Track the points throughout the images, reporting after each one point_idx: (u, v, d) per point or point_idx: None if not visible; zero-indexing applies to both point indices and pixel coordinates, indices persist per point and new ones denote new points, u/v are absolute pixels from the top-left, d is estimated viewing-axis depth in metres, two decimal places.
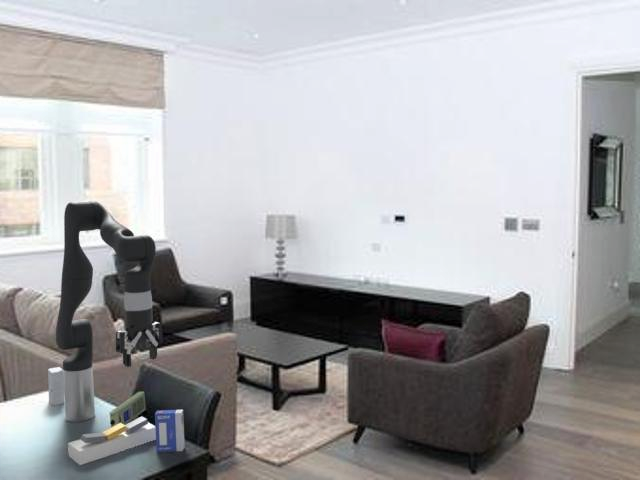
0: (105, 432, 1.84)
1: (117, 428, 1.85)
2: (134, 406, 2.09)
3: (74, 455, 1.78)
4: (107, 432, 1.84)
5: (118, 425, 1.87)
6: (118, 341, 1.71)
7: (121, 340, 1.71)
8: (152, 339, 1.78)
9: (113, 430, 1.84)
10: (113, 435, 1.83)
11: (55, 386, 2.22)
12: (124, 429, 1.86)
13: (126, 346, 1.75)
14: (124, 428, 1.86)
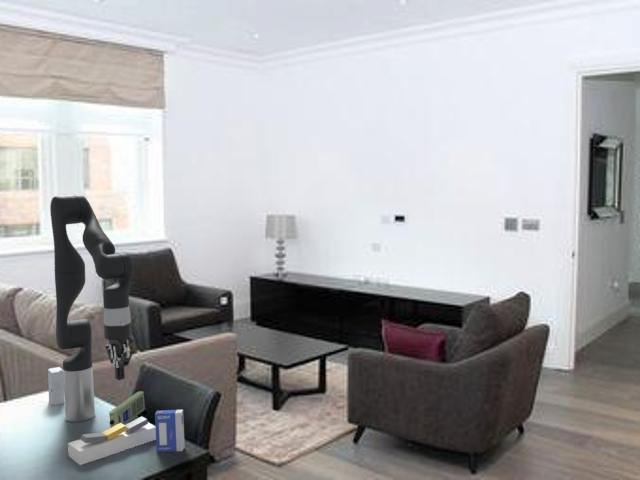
0: (105, 432, 1.84)
1: (117, 428, 1.85)
2: (133, 406, 2.09)
3: (74, 455, 1.78)
4: (107, 432, 1.84)
5: (118, 425, 1.87)
6: (126, 360, 1.81)
7: (130, 357, 1.82)
8: None
9: (113, 430, 1.84)
10: (113, 435, 1.83)
11: (55, 386, 2.22)
12: (124, 429, 1.86)
13: None
14: (124, 428, 1.86)
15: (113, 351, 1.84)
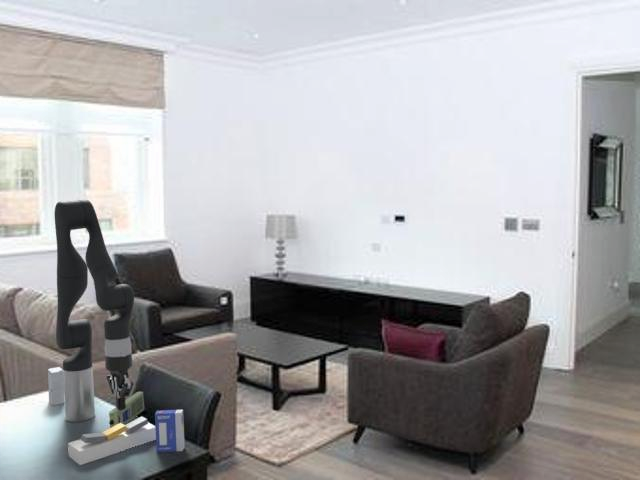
0: (105, 432, 1.84)
1: (117, 428, 1.85)
2: (133, 406, 2.09)
3: (74, 455, 1.78)
4: (107, 432, 1.84)
5: (118, 425, 1.87)
6: (127, 390, 1.82)
7: (131, 388, 1.83)
8: None
9: (113, 430, 1.84)
10: (113, 435, 1.83)
11: (55, 386, 2.22)
12: (124, 429, 1.86)
13: None
14: (124, 428, 1.86)
15: (114, 381, 1.85)
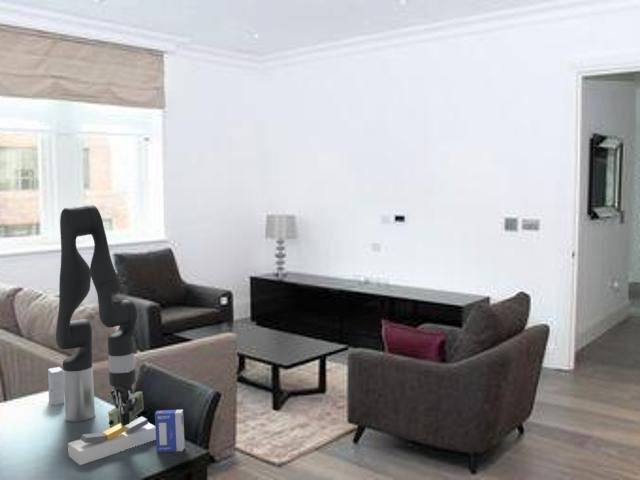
0: (105, 432, 1.84)
1: (117, 428, 1.85)
2: None
3: (74, 455, 1.78)
4: (107, 432, 1.84)
5: (118, 425, 1.87)
6: (131, 406, 1.83)
7: (135, 403, 1.84)
8: None
9: (113, 430, 1.84)
10: (113, 435, 1.84)
11: (55, 386, 2.22)
12: (124, 429, 1.86)
13: None
14: (124, 428, 1.86)
15: (118, 397, 1.86)
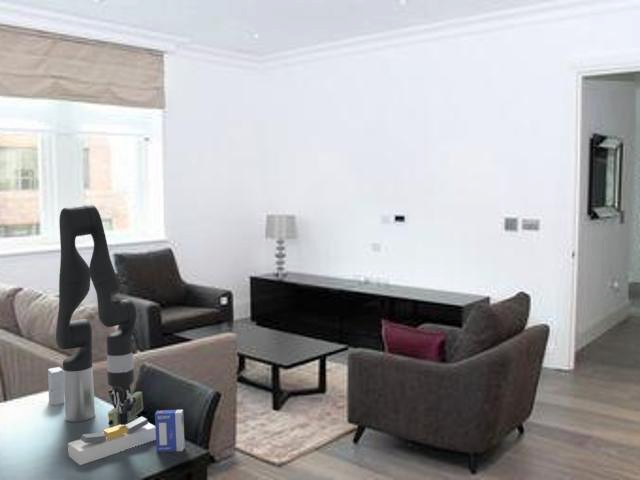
0: (106, 430, 1.84)
1: (119, 428, 1.85)
2: None
3: (74, 455, 1.78)
4: (108, 430, 1.84)
5: (120, 426, 1.87)
6: (129, 406, 1.83)
7: (133, 403, 1.84)
8: None
9: (115, 429, 1.85)
10: (114, 434, 1.84)
11: (55, 386, 2.22)
12: (125, 430, 1.86)
13: None
14: (125, 429, 1.86)
15: (116, 396, 1.86)
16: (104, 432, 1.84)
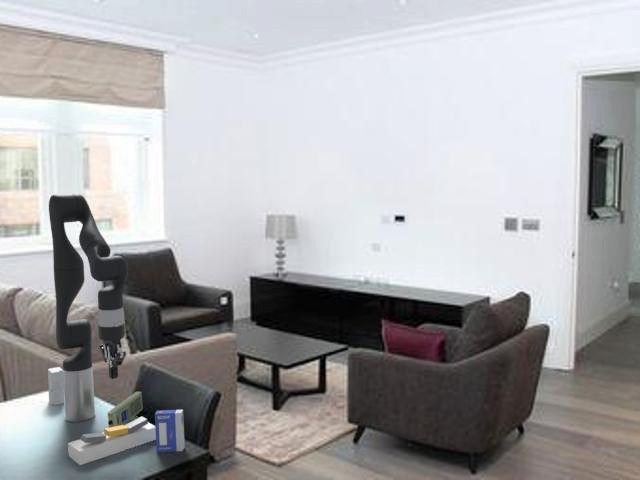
0: (107, 429, 1.84)
1: (119, 428, 1.86)
2: (131, 406, 2.10)
3: (74, 455, 1.78)
4: (109, 429, 1.84)
5: (121, 426, 1.87)
6: (120, 360, 1.86)
7: (124, 357, 1.87)
8: None
9: (115, 429, 1.85)
10: (114, 433, 1.84)
11: (55, 386, 2.22)
12: (126, 431, 1.86)
13: None
14: (126, 430, 1.86)
15: (107, 351, 1.89)
16: (105, 431, 1.84)
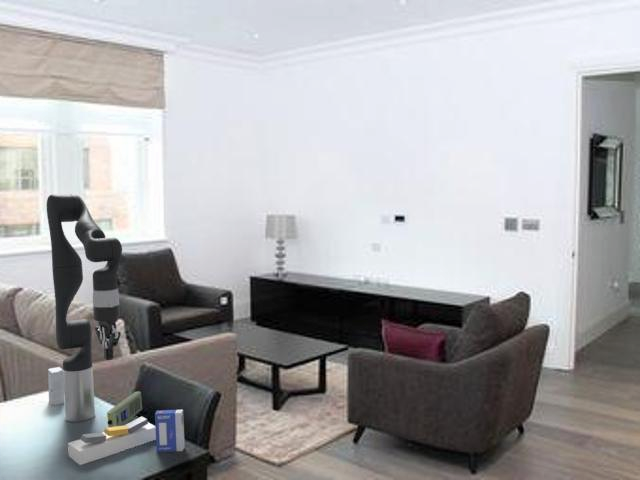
0: (108, 428, 1.85)
1: (120, 428, 1.86)
2: (131, 406, 2.10)
3: (74, 455, 1.78)
4: (110, 428, 1.84)
5: (121, 426, 1.88)
6: (115, 340, 1.88)
7: None
8: None
9: (116, 428, 1.85)
10: (115, 433, 1.84)
11: (55, 386, 2.22)
12: (126, 431, 1.86)
13: None
14: (126, 430, 1.86)
15: (102, 332, 1.90)
16: (105, 430, 1.84)
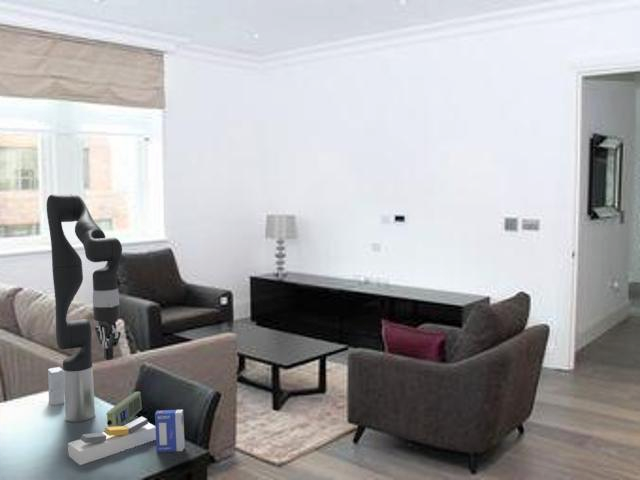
0: (108, 428, 1.85)
1: (120, 428, 1.86)
2: (130, 406, 2.10)
3: (74, 455, 1.78)
4: (110, 428, 1.84)
5: (121, 427, 1.88)
6: (115, 340, 1.88)
7: None
8: None
9: (116, 428, 1.85)
10: (115, 433, 1.84)
11: (55, 386, 2.22)
12: (126, 432, 1.86)
13: None
14: (127, 431, 1.86)
15: (102, 332, 1.90)
16: (106, 429, 1.84)
